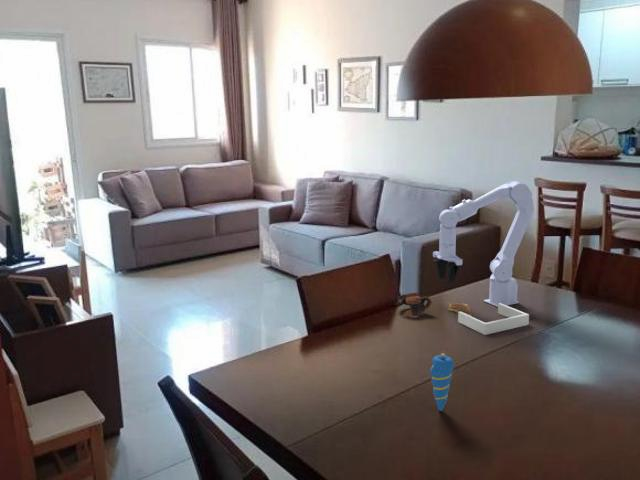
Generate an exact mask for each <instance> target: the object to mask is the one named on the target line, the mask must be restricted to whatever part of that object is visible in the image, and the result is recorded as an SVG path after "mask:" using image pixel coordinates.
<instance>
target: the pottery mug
mask: <svg viewBox="0 0 640 480" xmlns="http://www.w3.org/2000/svg"><path fill="white" fill-rule="evenodd" d="M425 302H426V304H425ZM398 305H400V306H402V305H405V306H409V308H410V309H409V310H406V311H405V314H406V318H410V317H411V318H412V317H419V316H420V317H421V316H423V313H425V312H426V310H427V309H430V307H431V305H432V300H431V298H430V297H429V296H419V293H418V292H410V293H406V294H405V293H404V294H401V295H398V296H397V301H396V306H398Z"/></svg>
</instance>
